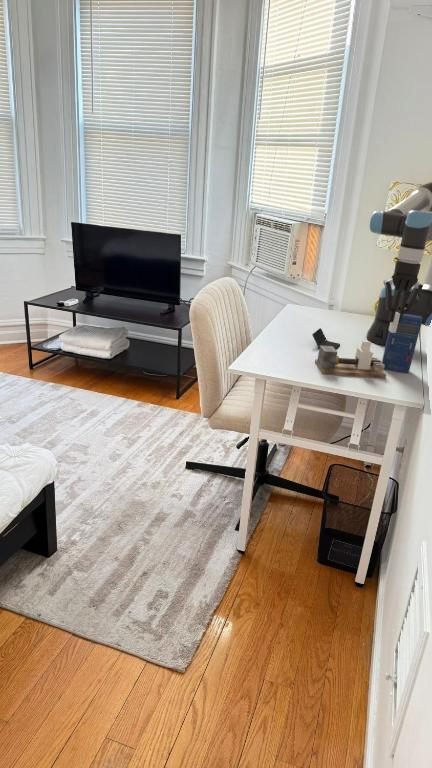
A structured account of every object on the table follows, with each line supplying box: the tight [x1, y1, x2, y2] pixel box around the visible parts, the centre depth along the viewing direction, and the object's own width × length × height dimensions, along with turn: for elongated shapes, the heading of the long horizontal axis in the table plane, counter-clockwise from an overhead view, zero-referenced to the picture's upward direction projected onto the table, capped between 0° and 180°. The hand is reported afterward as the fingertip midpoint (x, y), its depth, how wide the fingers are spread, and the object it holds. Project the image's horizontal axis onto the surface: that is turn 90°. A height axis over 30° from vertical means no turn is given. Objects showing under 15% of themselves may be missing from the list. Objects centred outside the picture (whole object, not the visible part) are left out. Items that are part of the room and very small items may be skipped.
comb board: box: [314, 346, 387, 379], centre depth 181 cm, size 22×11×7 cm, turn 94°
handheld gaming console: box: [311, 327, 341, 351], centre depth 205 cm, size 12×7×10 cm
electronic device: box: [381, 314, 422, 374], centre depth 184 cm, size 10×5×20 cm, turn 75°
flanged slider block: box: [354, 340, 374, 370], centre depth 181 cm, size 4×5×9 cm
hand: (392, 331), depth 178 cm, fingers closed
